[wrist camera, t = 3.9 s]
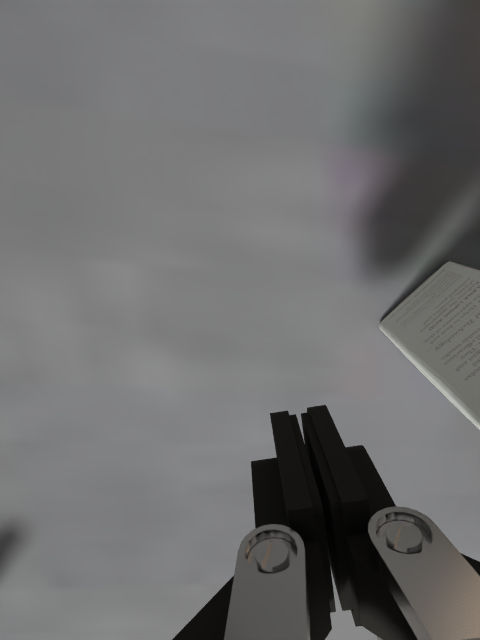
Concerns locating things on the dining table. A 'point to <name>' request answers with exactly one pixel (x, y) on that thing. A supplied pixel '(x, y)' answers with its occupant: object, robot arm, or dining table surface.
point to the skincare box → (443, 334)
